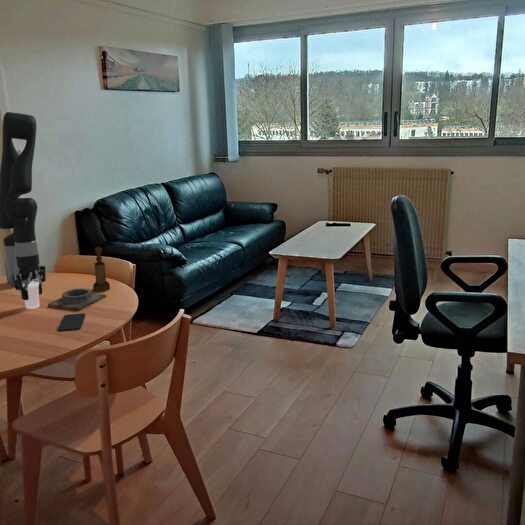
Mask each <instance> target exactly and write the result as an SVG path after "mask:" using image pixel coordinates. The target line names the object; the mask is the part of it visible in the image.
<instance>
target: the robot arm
mask: <svg viewBox="0 0 525 525" xmlns="http://www.w3.org/2000/svg"><path fill="white" fill-rule="evenodd" d="M36 137H37V121H36V117H35V116H33V115H30V114H26V113H20V112H19V113H18V112H14V111H13V112H12V111H7V112H5V113H4V114H3V118H2V148H1V149H2V151H1V152H2V153H1V162H0V229H2V230H11V229H12V231H13V232H12V233H10V234H9V235H7V236H5V237H4V238H3V247H4V253H5V260H6V261H5V262H4V268H5V275H6V281H7V285H9V286H12V287H14V288H15V290H16V291H20V295H21V299H22V300H23V301H25V300H29V296H28V290H27V288H28V285H29V284H30V282H32V281H34V282H39V286H38V288H39V296H40V295H43V286H42V285H43V283H45V282H46V279H47V278H46V277H47V276H46V266H45V265H40V257H39V250H38V249H39V247H38V244H37V243H38V242H37V239H36V237H37V236H36V230H35V228H36V227H35V226H36V220H37V219H36V217H37V213H38V203H37V202H36V200H35V199H34V198H32V197H20V196H22V195H27V194H30V193H31V192H32V190H33V162H34V156H35V148H36V139H37V138H36ZM13 139H14V140H23V141H25V142H26V143H25V145H24V148H23V150H22V151H21V153H20V154H19V152H18V151H17V149H16V147H15V145H14V143H13ZM24 284H25V285H24ZM23 286H24V287H23Z"/></svg>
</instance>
